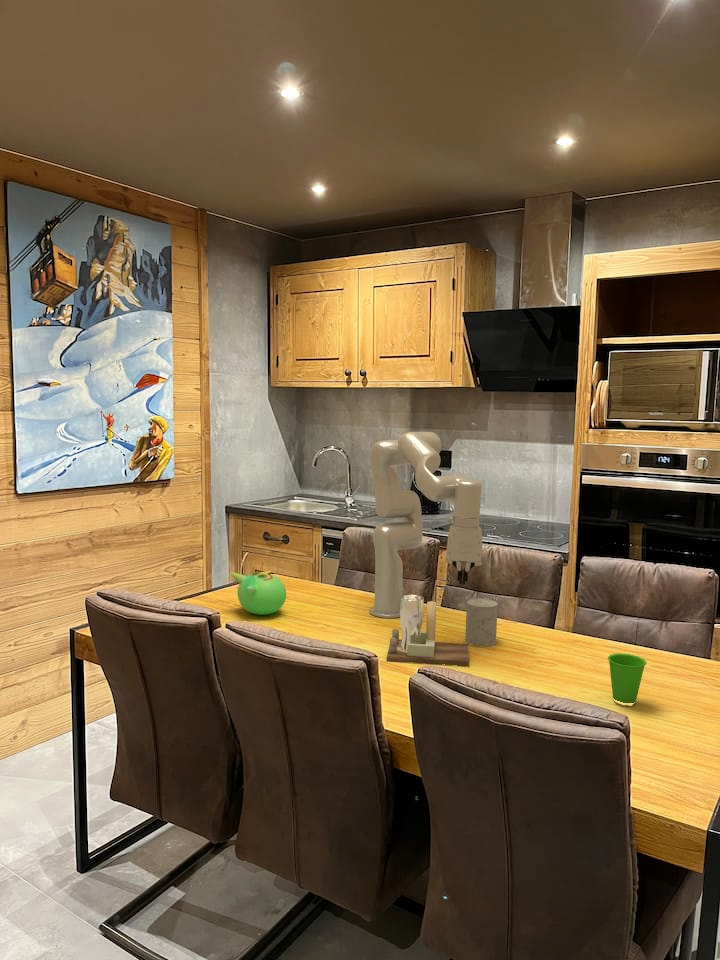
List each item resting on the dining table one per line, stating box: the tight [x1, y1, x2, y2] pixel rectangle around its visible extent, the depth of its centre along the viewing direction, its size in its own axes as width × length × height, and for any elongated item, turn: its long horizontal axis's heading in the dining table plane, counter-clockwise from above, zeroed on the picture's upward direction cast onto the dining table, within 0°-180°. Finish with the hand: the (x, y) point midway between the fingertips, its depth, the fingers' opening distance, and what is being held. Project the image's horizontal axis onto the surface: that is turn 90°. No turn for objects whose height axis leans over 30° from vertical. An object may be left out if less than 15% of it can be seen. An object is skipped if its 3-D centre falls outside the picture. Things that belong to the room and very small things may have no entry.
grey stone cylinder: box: [464, 597, 499, 648], centre depth 224 cm, size 10×10×12 cm
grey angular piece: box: [407, 600, 437, 658], centre depth 211 cm, size 13×8×14 cm, turn 172°
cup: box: [607, 652, 647, 703], centre depth 180 cm, size 9×9×11 cm
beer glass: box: [399, 594, 425, 651], centre depth 212 cm, size 7×7×15 cm
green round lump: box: [229, 570, 287, 616], centre depth 248 cm, size 18×17×15 cm
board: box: [386, 628, 470, 667], centre depth 212 cm, size 15×23×6 cm, turn 82°
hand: (462, 583), depth 214 cm, fingers closed
